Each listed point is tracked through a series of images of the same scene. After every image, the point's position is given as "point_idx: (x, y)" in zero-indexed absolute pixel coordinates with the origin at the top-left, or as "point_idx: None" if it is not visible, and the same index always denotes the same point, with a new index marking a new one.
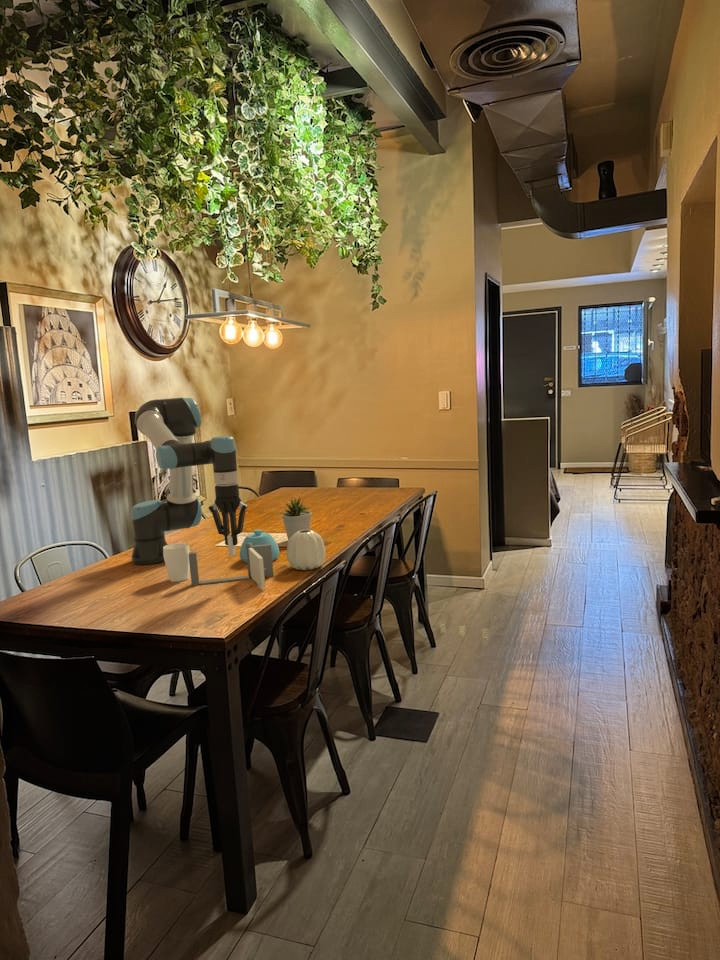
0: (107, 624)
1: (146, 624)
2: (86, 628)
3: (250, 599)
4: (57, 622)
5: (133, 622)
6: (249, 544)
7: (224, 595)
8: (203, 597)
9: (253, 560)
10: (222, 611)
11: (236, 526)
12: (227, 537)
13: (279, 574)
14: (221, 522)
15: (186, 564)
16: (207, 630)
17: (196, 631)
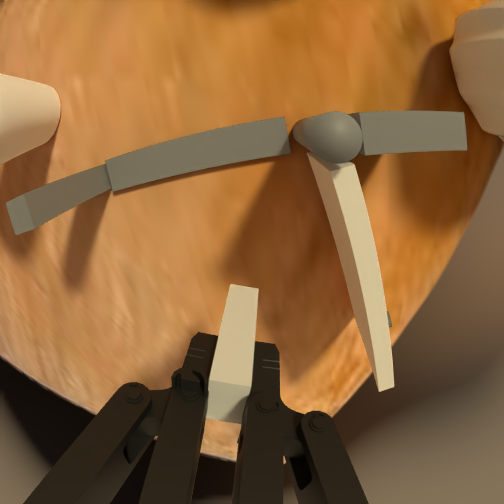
0: (70, 391)
1: None
2: (55, 392)
3: (317, 360)
4: (4, 353)
5: (104, 400)
6: (344, 157)
7: None
8: (174, 319)
9: (351, 270)
10: None
11: (280, 464)
12: (207, 411)
13: None
14: (105, 468)
15: (26, 132)
16: None
17: (231, 452)
